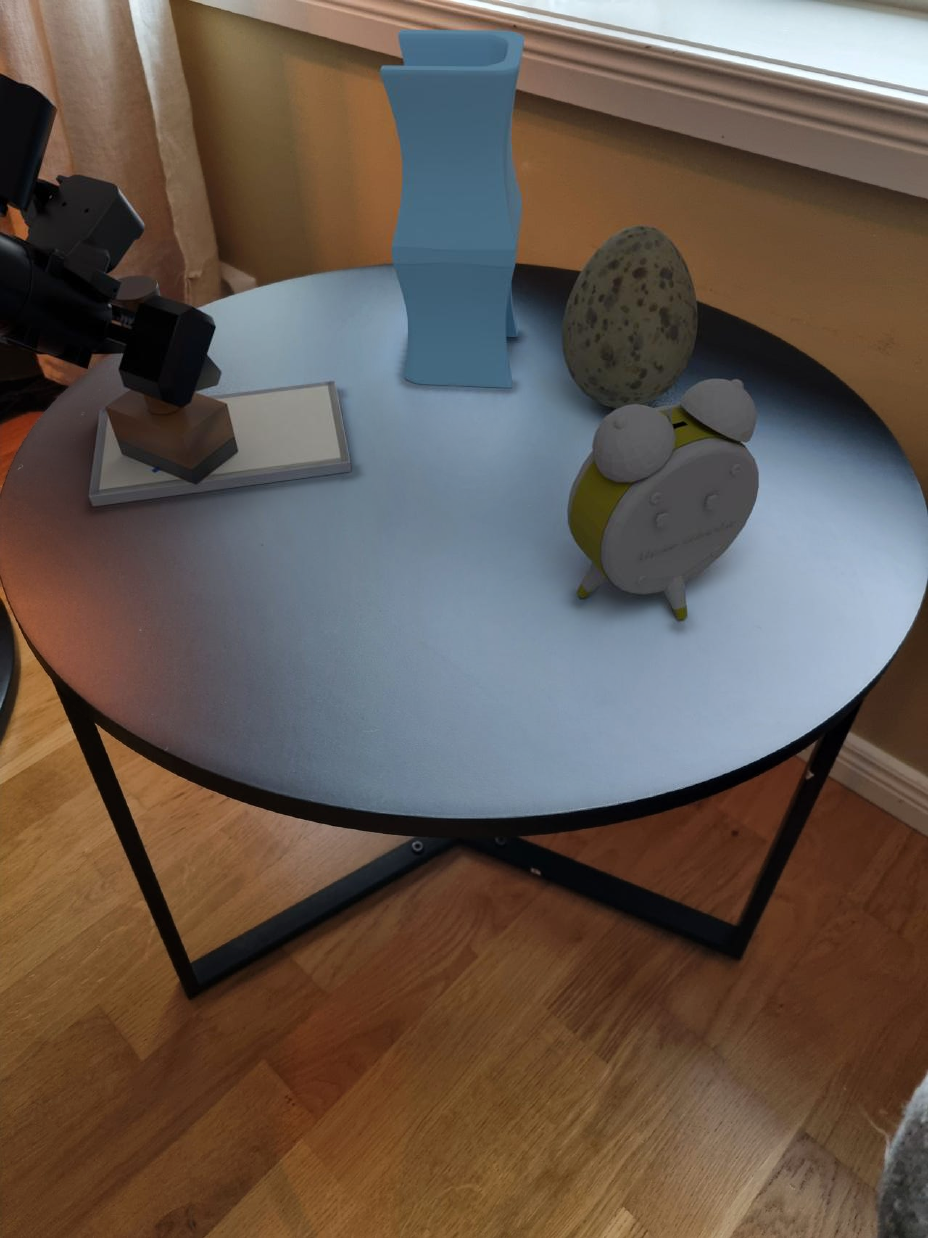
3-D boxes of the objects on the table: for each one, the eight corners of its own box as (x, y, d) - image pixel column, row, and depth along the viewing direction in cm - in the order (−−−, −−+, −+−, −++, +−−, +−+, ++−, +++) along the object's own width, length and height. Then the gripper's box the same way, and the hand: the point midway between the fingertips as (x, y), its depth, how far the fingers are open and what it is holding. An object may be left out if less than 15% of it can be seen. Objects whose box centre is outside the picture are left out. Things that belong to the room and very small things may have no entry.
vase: (416, 327, 89) (398, 28, 70) (518, 331, 88) (526, 29, 70) (401, 383, 82) (378, 69, 64) (511, 388, 81) (519, 70, 63)
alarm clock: (693, 535, 67) (733, 351, 56) (753, 593, 63) (809, 406, 52) (556, 587, 64) (570, 401, 53) (609, 653, 60) (637, 465, 49)
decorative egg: (655, 450, 74) (684, 272, 64) (536, 414, 78) (544, 240, 67) (700, 385, 81) (734, 213, 70) (588, 355, 85) (603, 187, 74)
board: (92, 507, 71) (88, 496, 70) (103, 418, 79) (99, 408, 78) (351, 471, 73) (350, 461, 72) (336, 389, 81) (335, 379, 81)
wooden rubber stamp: (196, 485, 71) (147, 316, 61) (121, 454, 74) (63, 288, 64) (238, 451, 74) (199, 285, 63) (165, 422, 77) (116, 259, 66)
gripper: (155, 179, 50) (306, 286, 65) (-67, 123, 57) (115, 231, 72) (92, 373, 51) (254, 436, 66) (-118, 296, 58) (71, 368, 73)
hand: (171, 361), depth 69 cm, fingers open, 9 cm apart
